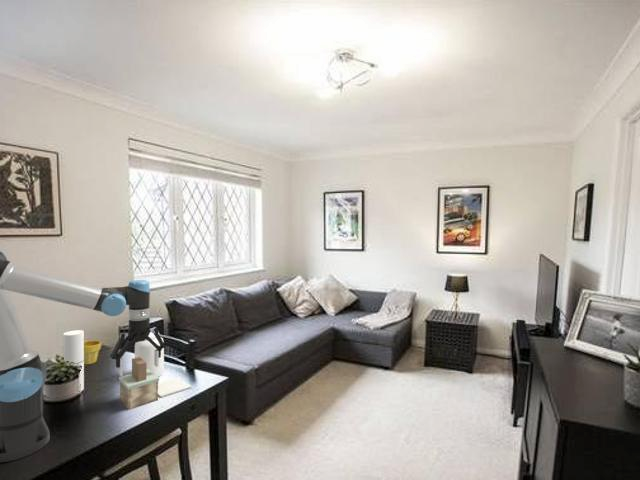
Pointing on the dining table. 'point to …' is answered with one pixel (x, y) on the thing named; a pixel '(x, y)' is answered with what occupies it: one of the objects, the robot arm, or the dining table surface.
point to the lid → (138, 375)
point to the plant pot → (91, 351)
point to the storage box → (139, 395)
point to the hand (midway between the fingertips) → (139, 370)
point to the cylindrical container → (74, 350)
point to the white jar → (150, 354)
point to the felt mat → (172, 387)
